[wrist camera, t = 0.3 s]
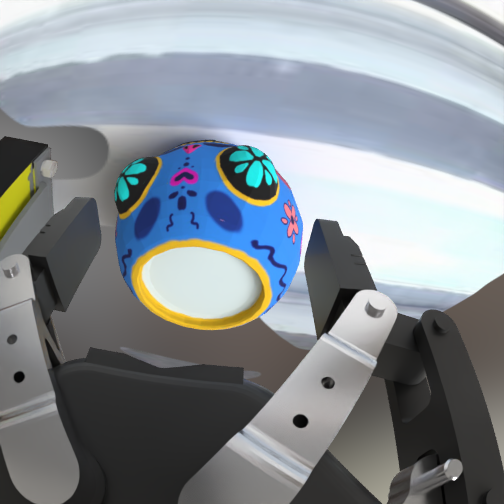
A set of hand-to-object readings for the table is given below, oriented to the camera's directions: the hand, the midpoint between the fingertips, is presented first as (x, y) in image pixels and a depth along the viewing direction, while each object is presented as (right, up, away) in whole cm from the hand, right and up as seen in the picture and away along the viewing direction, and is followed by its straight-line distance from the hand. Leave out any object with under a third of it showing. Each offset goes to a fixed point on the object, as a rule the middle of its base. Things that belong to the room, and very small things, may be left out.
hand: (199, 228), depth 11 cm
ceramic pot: (-2, +7, +24) cm, 25 cm away
